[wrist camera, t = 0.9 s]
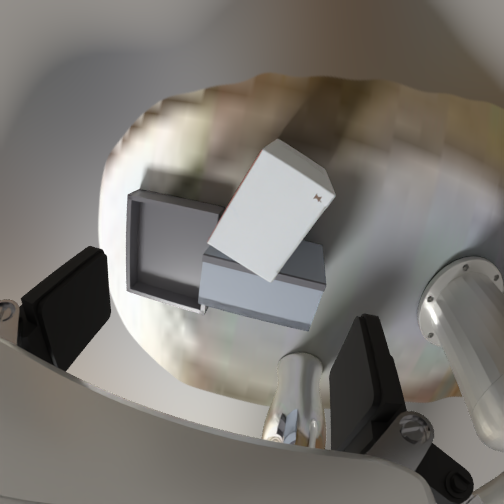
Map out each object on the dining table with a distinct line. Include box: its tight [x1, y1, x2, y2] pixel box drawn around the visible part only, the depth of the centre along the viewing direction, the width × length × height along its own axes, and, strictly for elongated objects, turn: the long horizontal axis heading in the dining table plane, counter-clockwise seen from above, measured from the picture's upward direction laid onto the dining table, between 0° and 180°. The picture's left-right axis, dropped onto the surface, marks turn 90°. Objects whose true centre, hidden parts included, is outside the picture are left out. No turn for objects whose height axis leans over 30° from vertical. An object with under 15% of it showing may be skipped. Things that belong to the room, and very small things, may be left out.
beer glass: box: [261, 352, 326, 449], centre depth 32 cm, size 7×7×15 cm
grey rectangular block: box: [198, 240, 326, 331], centre depth 29 cm, size 10×5×8 cm, turn 79°
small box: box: [207, 139, 336, 282], centre depth 25 cm, size 8×6×10 cm
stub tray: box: [126, 189, 225, 315], centre depth 33 cm, size 10×12×2 cm
